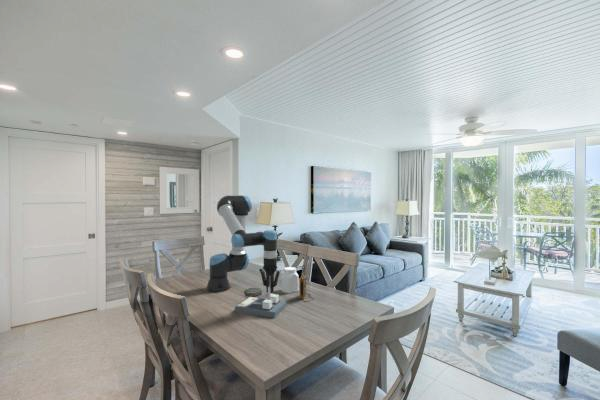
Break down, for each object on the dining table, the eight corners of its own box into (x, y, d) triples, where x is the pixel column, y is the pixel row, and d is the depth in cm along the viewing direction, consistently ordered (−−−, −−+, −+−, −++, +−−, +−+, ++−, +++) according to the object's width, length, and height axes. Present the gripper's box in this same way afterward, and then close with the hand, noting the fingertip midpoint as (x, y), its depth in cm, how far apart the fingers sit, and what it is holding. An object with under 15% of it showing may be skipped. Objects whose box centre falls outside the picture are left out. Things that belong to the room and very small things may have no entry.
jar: (293, 287, 196) (293, 265, 196) (300, 291, 188) (301, 268, 188) (279, 289, 190) (279, 268, 190) (286, 294, 182) (286, 271, 182)
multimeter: (314, 302, 167) (314, 269, 167) (298, 301, 169) (298, 268, 169) (318, 294, 181) (318, 263, 181) (303, 293, 183) (303, 263, 183)
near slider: (262, 308, 150) (262, 301, 150) (265, 305, 153) (265, 299, 153) (269, 309, 148) (269, 302, 148) (272, 306, 152) (272, 300, 152)
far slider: (269, 302, 158) (269, 296, 158) (272, 300, 162) (272, 294, 162) (276, 303, 157) (276, 297, 157) (278, 300, 161) (278, 294, 161)
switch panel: (235, 311, 153) (235, 305, 153) (249, 301, 169) (249, 296, 169) (274, 317, 146) (274, 311, 146) (286, 306, 161) (286, 300, 161)
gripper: (257, 257, 159) (256, 299, 159) (277, 259, 154) (277, 302, 155) (262, 255, 166) (262, 294, 166) (283, 257, 161) (282, 297, 162)
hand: (269, 298), depth 160 cm, fingers closed
